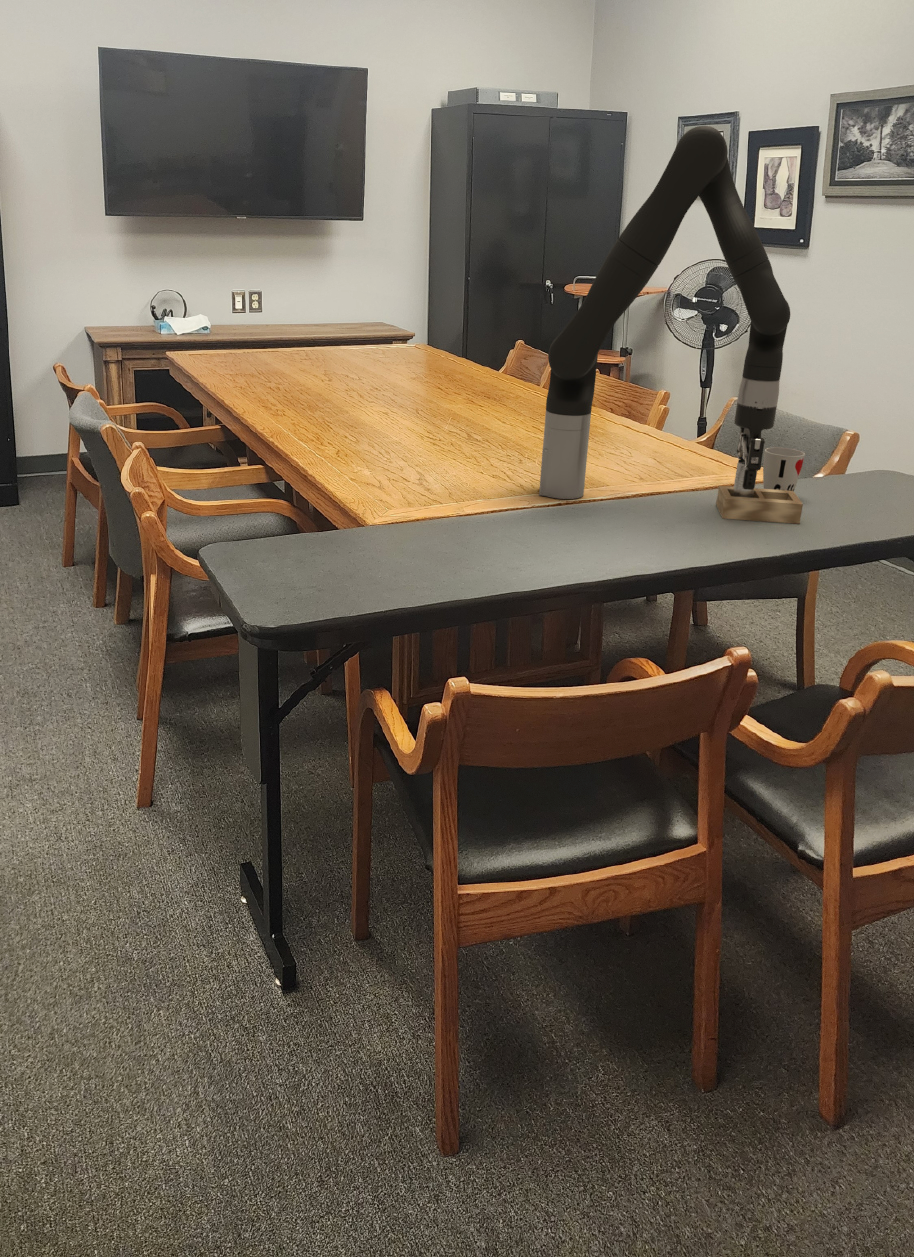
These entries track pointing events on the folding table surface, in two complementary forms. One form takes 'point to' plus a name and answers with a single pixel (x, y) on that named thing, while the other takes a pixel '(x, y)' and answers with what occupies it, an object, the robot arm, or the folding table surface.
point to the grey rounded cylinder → (741, 483)
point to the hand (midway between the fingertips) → (744, 483)
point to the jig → (760, 505)
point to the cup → (782, 468)
